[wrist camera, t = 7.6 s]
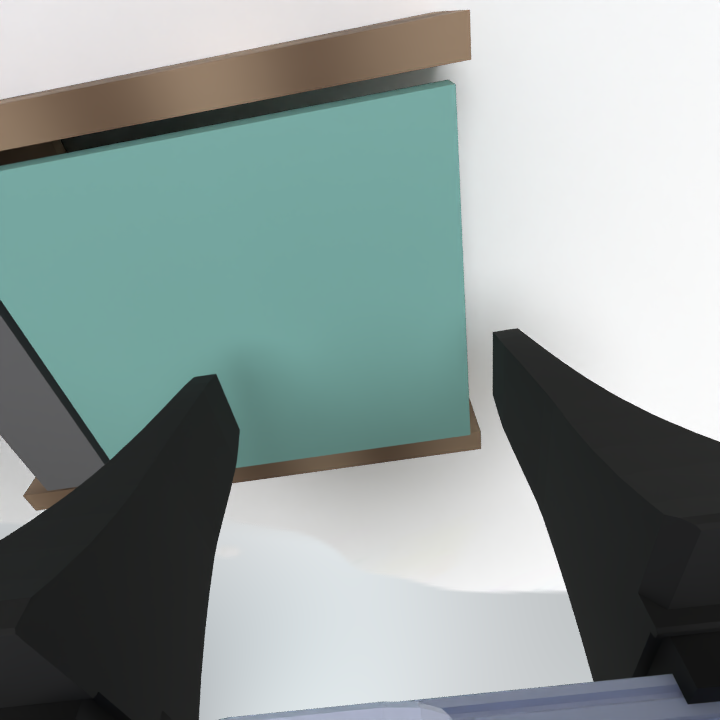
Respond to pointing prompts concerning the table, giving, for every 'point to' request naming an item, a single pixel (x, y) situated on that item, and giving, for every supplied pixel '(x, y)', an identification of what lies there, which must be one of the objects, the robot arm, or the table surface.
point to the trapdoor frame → (228, 88)
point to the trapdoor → (240, 284)
